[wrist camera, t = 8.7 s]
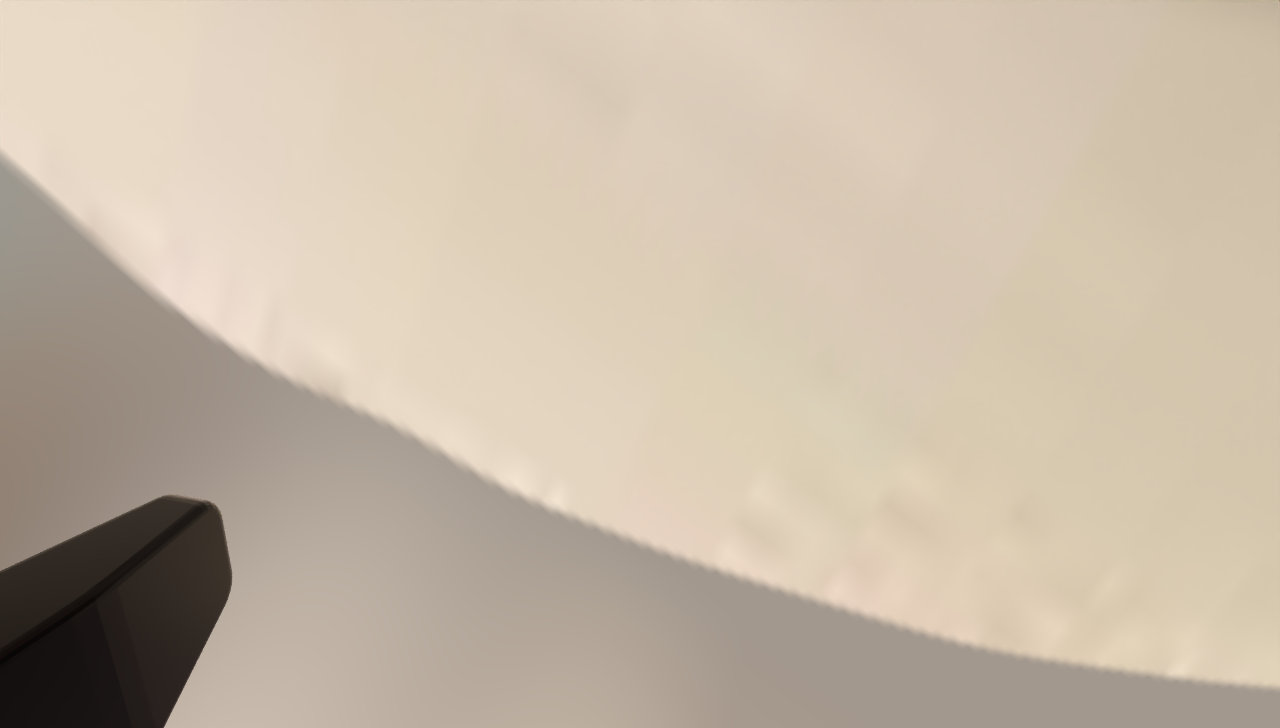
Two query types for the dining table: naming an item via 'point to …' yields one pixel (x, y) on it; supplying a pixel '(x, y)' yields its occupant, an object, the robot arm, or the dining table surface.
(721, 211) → the dining table surface
